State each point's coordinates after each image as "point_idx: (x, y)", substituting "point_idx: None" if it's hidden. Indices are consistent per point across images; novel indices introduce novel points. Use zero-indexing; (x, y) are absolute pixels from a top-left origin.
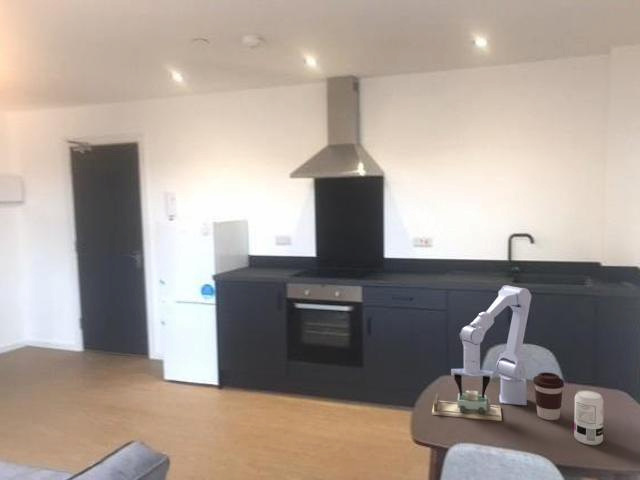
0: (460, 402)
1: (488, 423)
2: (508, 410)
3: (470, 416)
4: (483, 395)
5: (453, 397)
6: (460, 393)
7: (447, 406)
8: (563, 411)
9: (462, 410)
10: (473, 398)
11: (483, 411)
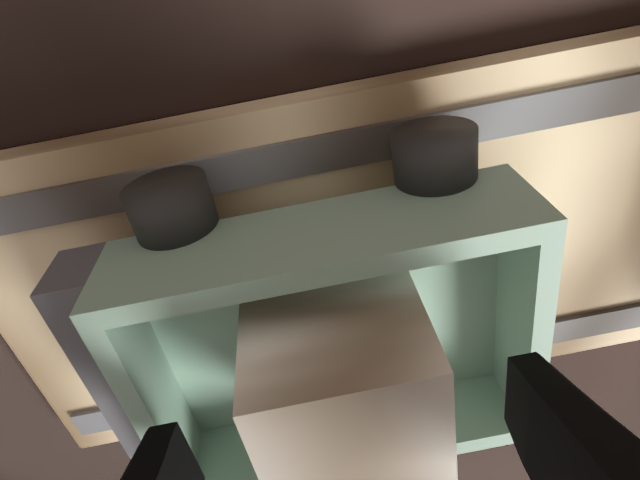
0: (502, 213)
1: (26, 9)
2: (3, 419)
3: (305, 96)
4: (141, 454)
5: (516, 450)
6: (555, 375)
7: (601, 240)
8: None
9: (431, 124)
10: (306, 347)
11: (130, 190)
